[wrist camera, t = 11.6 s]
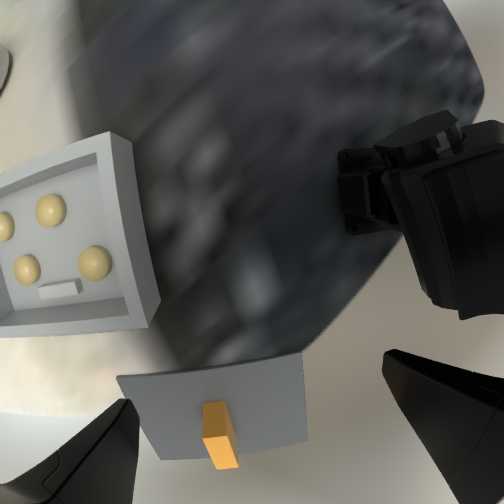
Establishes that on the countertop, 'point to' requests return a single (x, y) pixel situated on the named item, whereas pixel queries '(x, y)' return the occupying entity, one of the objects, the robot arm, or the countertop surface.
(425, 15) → the countertop surface
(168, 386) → the grey lid
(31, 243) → the tub
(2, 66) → the can
